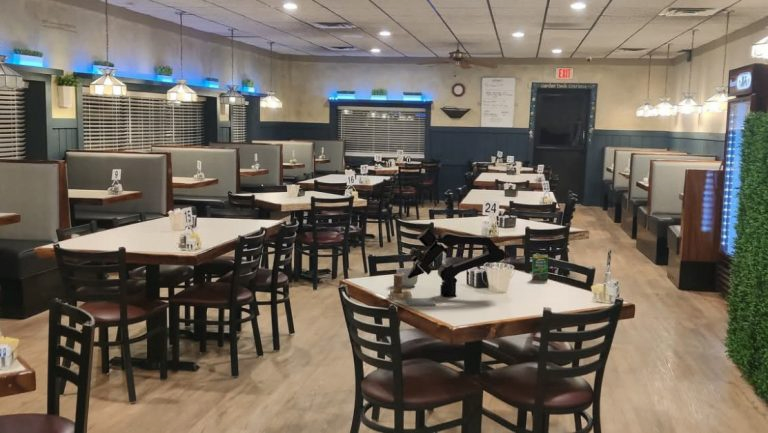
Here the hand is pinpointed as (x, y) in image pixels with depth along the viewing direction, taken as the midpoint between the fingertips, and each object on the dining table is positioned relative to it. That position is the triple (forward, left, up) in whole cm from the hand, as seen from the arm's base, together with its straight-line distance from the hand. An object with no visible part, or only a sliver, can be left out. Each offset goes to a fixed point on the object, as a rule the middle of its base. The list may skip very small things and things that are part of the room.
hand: (408, 277), depth 344 cm
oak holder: (+3, 0, -9) cm, 9 cm away
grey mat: (-4, +13, -9) cm, 17 cm away
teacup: (-1, -22, -9) cm, 23 cm away
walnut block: (+5, 0, -4) cm, 6 cm away
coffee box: (-73, -39, -9) cm, 83 cm away
